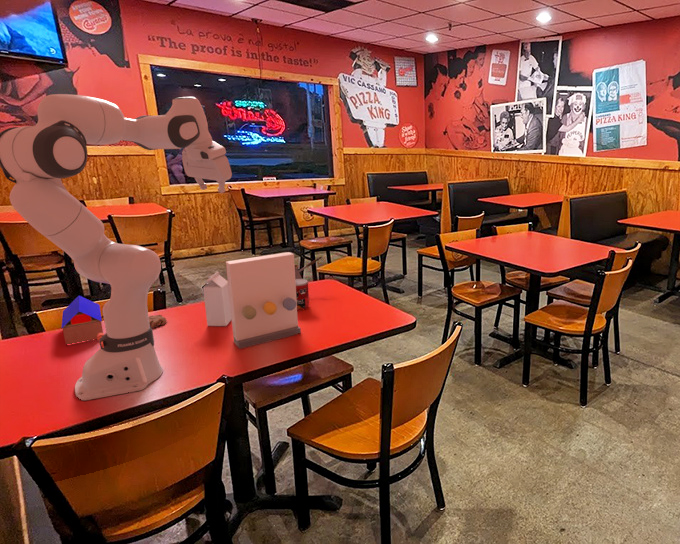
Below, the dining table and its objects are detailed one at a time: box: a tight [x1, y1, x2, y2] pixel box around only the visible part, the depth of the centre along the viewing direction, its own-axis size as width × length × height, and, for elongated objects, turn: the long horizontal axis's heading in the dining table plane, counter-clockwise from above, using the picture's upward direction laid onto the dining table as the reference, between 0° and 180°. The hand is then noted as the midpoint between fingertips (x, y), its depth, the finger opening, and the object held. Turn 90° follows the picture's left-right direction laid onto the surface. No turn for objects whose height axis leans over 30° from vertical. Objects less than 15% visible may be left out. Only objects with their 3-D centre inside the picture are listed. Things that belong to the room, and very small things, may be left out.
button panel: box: [225, 251, 302, 350], centre depth 147 cm, size 22×6×28 cm, turn 120°
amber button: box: [263, 301, 277, 315], centre depth 144 cm, size 4×3×4 cm, turn 120°
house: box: [60, 295, 104, 345], centre depth 158 cm, size 12×20×12 cm, turn 30°
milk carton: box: [202, 271, 232, 327], centre depth 162 cm, size 7×7×19 cm
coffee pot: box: [295, 256, 323, 279], centre depth 196 cm, size 21×12×15 cm, turn 122°
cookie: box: [148, 314, 168, 329], centre depth 165 cm, size 10×11×3 cm
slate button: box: [283, 297, 296, 311], centre depth 148 cm, size 4×3×4 cm, turn 120°
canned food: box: [295, 278, 310, 311], centre depth 177 cm, size 8×8×11 cm
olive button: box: [242, 306, 256, 319], centre depth 141 cm, size 4×3×4 cm, turn 120°
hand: (213, 190), depth 147 cm, fingers open, 8 cm apart
